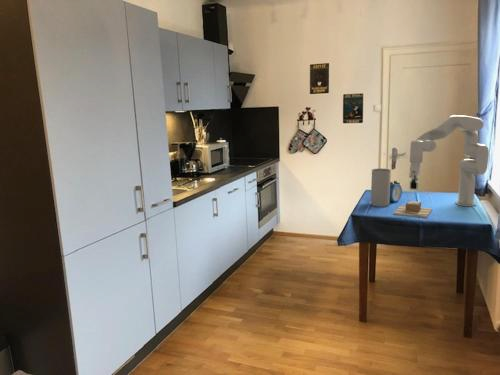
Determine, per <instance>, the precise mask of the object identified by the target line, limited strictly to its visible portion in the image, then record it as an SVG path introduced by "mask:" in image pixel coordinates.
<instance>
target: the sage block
mask: <svg viewBox="0 0 500 375" xmlns="http://www.w3.org/2000/svg"><path fill="white" fill-rule="evenodd" d="M419 189H420V180H418V181H416V189H411V180H410V181H409V190H411V191H418V190H419Z"/></svg>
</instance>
